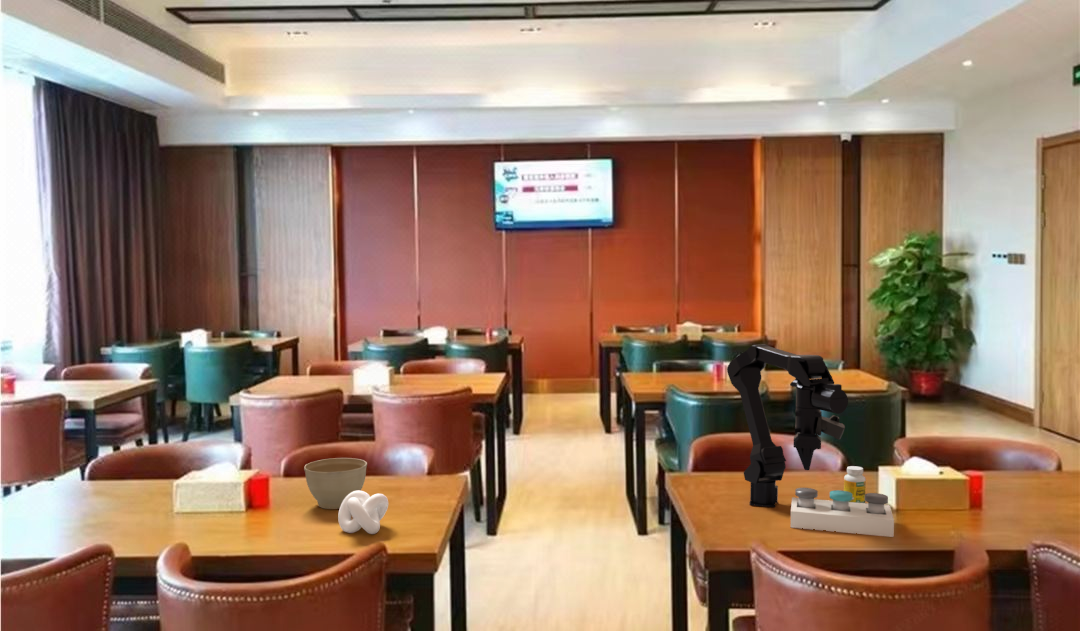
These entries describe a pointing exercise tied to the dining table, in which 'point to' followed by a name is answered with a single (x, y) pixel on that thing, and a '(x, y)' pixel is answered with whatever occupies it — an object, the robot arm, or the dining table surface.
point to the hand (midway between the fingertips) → (806, 469)
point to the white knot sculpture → (362, 512)
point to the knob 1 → (806, 497)
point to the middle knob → (840, 500)
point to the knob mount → (842, 518)
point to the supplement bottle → (855, 484)
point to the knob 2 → (876, 502)
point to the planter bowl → (334, 479)
